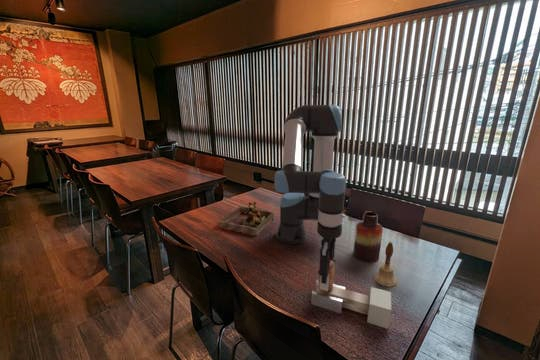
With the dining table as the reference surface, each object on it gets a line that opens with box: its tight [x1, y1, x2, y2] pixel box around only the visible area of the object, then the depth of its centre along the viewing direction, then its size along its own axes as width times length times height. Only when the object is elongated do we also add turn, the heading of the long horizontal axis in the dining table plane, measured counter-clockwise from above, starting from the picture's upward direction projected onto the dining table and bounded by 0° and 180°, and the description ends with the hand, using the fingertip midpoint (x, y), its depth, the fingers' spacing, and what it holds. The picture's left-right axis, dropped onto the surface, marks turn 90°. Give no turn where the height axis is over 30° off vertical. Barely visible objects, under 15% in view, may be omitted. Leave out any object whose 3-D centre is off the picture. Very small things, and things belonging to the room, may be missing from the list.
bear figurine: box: [242, 201, 266, 228], centre depth 142 cm, size 14×15×12 cm
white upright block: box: [366, 286, 392, 330], centre depth 80 cm, size 6×8×7 cm
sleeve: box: [310, 279, 346, 314], centre depth 87 cm, size 10×7×5 cm
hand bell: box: [373, 241, 398, 288], centre depth 95 cm, size 8×8×16 cm
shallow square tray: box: [218, 205, 275, 237], centre depth 144 cm, size 23×23×4 cm
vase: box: [353, 211, 384, 263], centre depth 110 cm, size 11×11×20 cm
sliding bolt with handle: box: [317, 260, 370, 316], centre depth 82 cm, size 20×5×14 cm, turn 66°
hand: (325, 284), depth 86 cm, fingers closed on sliding bolt with handle, 5 cm apart
